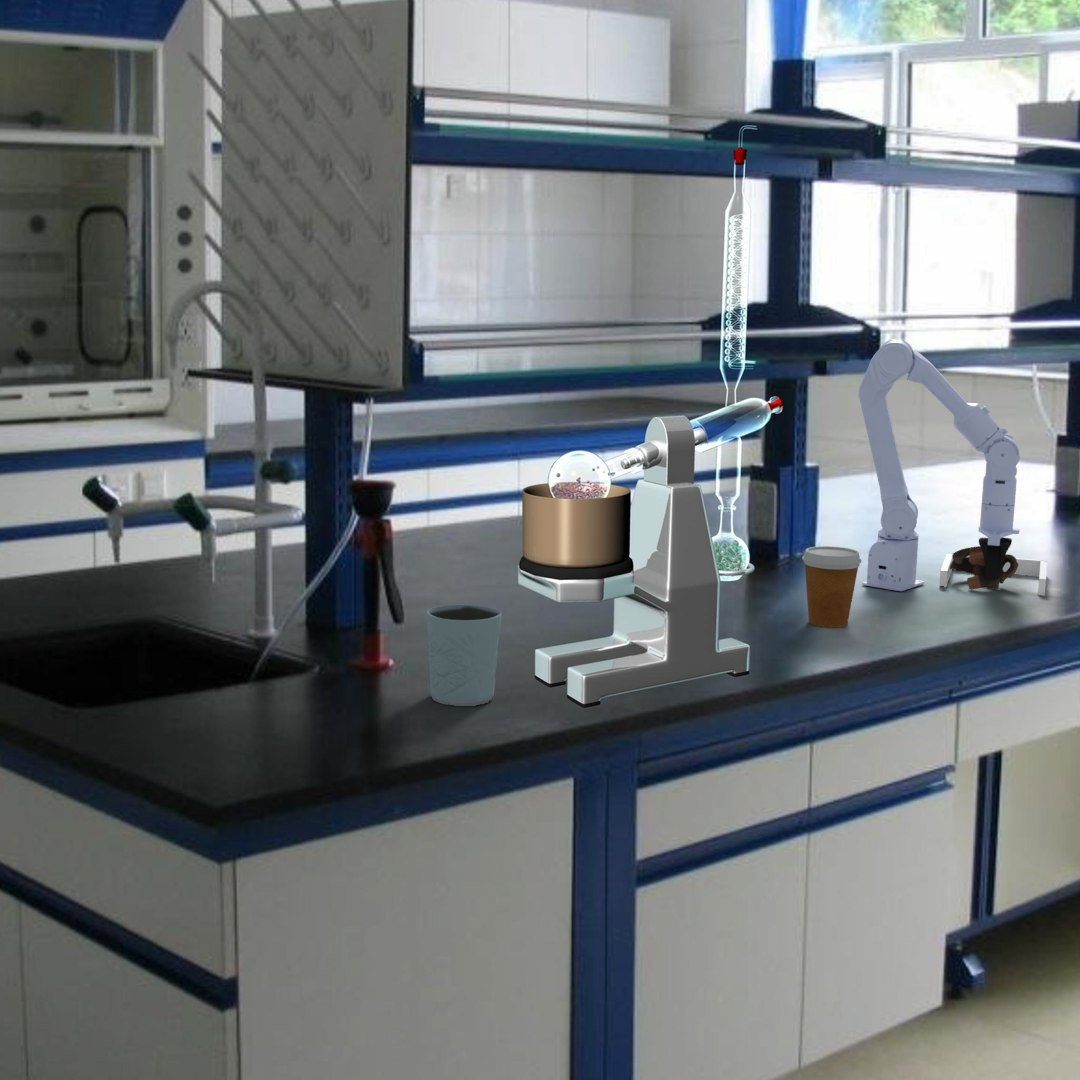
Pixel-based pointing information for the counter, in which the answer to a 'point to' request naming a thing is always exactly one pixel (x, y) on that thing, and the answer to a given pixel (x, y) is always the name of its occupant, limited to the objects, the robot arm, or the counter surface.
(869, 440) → the robot arm
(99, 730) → the counter surface
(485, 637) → the grey tapered cup
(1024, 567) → the u-shaped white bracket
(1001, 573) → the pottery mug
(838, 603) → the disposable coffee cup
